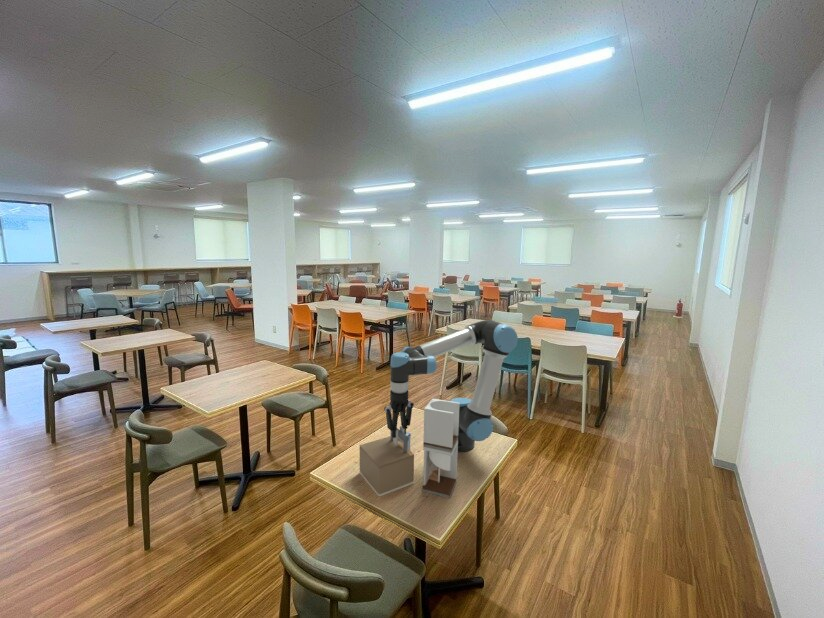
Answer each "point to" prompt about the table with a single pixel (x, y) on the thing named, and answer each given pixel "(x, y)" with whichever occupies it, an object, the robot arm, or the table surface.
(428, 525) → the table surface
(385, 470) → the carton
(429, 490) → the white tower
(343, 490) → the table surface
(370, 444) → the lid flap
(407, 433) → the medicine box
